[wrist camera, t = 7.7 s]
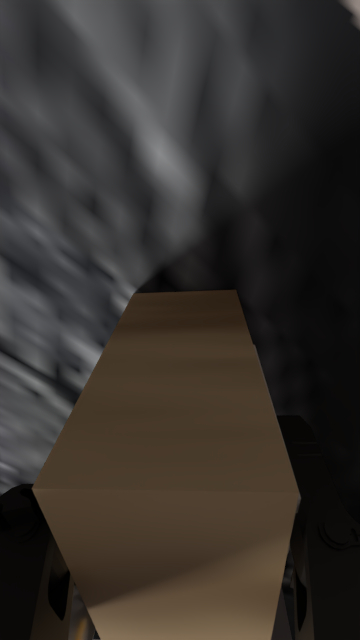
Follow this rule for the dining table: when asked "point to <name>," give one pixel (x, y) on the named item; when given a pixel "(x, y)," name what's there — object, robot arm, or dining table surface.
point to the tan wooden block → (174, 478)
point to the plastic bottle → (80, 619)
